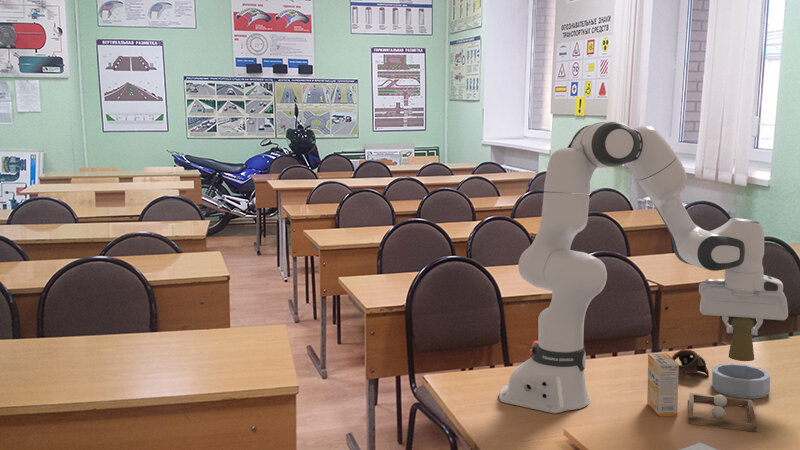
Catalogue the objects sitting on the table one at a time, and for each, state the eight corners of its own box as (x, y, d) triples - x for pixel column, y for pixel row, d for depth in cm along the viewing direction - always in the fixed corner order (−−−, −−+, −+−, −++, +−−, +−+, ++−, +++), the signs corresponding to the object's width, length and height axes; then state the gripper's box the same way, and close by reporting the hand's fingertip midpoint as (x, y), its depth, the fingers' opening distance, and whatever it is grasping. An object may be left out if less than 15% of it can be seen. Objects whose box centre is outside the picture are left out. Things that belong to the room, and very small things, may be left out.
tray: (688, 422, 155) (688, 416, 155) (689, 398, 170) (689, 392, 170) (756, 431, 150) (756, 425, 150) (751, 405, 164) (751, 400, 164)
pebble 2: (711, 410, 156) (711, 402, 158) (711, 421, 157) (710, 412, 160) (726, 412, 155) (725, 404, 157) (725, 422, 156) (724, 414, 158)
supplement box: (646, 403, 168) (646, 352, 166) (665, 403, 167) (666, 352, 166) (657, 417, 159) (658, 363, 158) (678, 416, 159) (679, 363, 158)
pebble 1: (713, 408, 164) (713, 396, 163) (713, 403, 166) (713, 392, 166) (727, 409, 162) (727, 397, 162) (726, 405, 165) (727, 393, 165)
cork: (742, 362, 170) (743, 320, 169) (723, 355, 176) (724, 314, 175) (760, 359, 172) (761, 317, 171) (740, 352, 178) (742, 312, 177)
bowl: (712, 395, 172) (713, 377, 171) (711, 378, 184) (712, 361, 183) (771, 402, 166) (772, 383, 166) (766, 384, 178) (767, 366, 178)
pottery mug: (717, 382, 182) (706, 359, 180) (683, 396, 184) (672, 373, 181) (700, 358, 193) (689, 336, 191) (668, 371, 195) (658, 349, 193)
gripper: (699, 281, 173) (697, 333, 175) (790, 285, 165) (788, 340, 166) (699, 276, 179) (697, 327, 180) (787, 280, 170) (785, 333, 172)
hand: (741, 333), depth 173 cm, fingers closed on cork, 4 cm apart
